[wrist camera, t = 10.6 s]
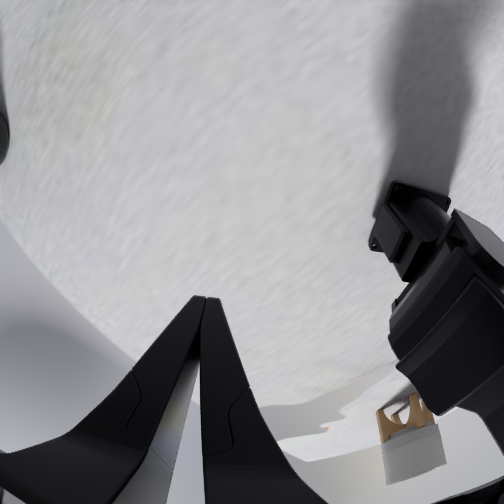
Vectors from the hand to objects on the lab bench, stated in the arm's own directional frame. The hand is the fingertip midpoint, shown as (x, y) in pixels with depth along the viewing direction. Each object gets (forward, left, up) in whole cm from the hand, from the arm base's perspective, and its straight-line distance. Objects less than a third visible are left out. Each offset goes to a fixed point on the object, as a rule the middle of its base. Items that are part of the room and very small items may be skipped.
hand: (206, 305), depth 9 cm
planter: (-40, +44, -13) cm, 61 cm away
